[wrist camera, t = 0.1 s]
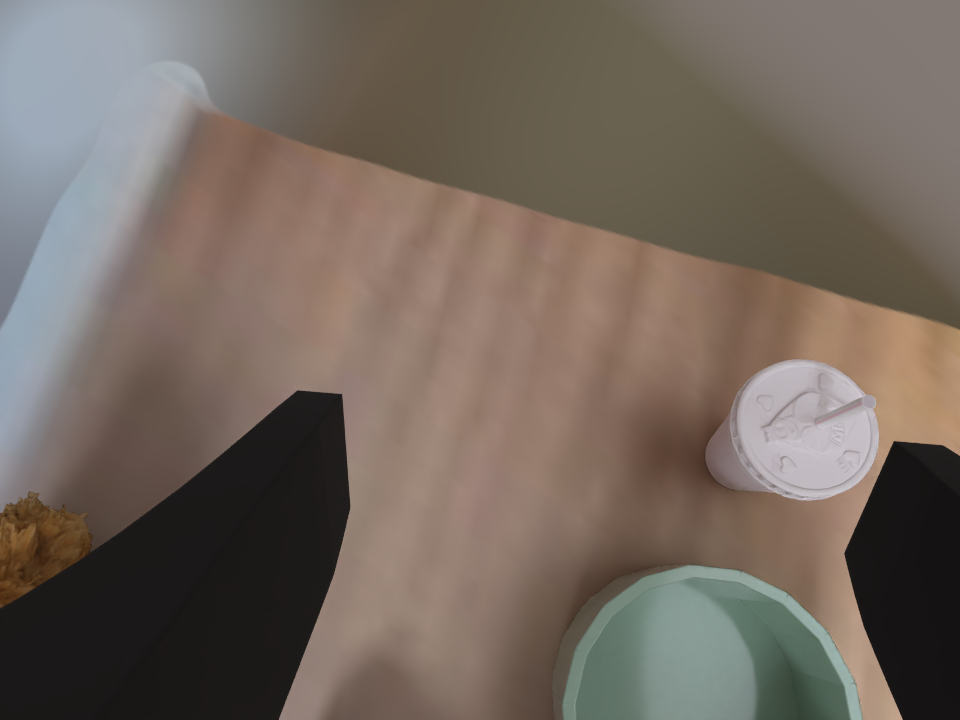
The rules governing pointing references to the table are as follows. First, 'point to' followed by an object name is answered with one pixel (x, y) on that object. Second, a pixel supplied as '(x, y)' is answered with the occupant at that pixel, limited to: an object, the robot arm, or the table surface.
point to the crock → (699, 653)
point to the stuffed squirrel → (37, 545)
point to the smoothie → (796, 433)
